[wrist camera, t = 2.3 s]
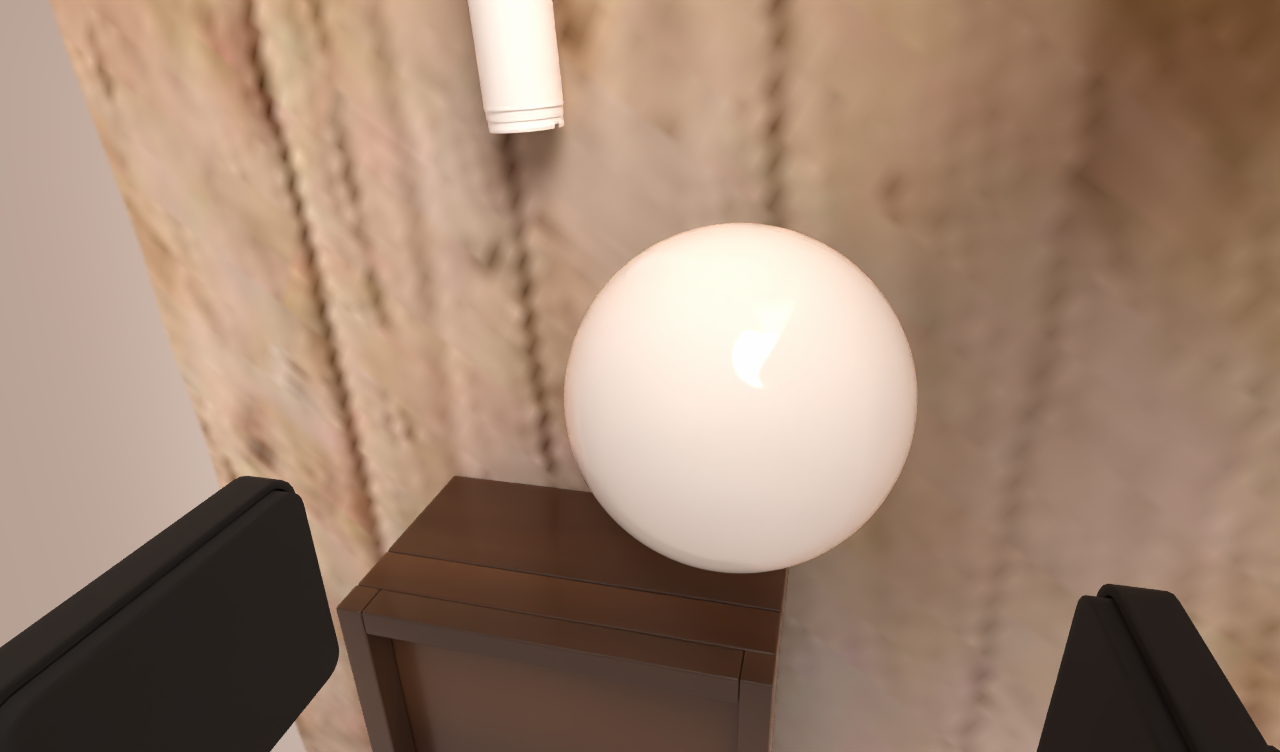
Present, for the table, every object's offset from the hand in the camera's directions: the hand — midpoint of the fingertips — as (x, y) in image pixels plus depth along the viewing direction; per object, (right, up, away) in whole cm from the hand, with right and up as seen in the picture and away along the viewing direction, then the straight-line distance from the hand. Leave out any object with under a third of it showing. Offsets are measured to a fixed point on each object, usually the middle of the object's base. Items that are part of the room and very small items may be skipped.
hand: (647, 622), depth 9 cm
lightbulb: (+4, +6, +12) cm, 14 cm away
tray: (-1, -7, +19) cm, 21 cm away
